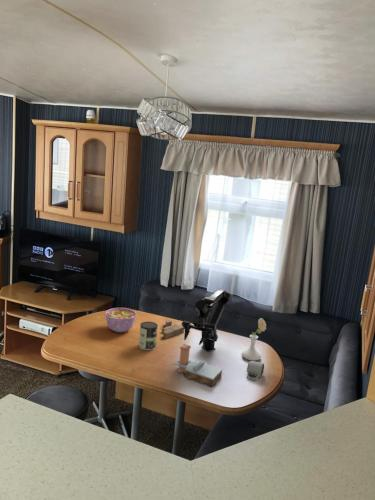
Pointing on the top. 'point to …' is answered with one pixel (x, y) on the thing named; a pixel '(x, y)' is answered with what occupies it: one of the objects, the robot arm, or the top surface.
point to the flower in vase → (252, 352)
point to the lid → (200, 369)
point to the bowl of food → (120, 319)
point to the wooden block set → (172, 329)
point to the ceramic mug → (255, 369)
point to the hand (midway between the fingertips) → (191, 342)
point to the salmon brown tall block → (184, 356)
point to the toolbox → (202, 378)
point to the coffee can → (148, 335)
